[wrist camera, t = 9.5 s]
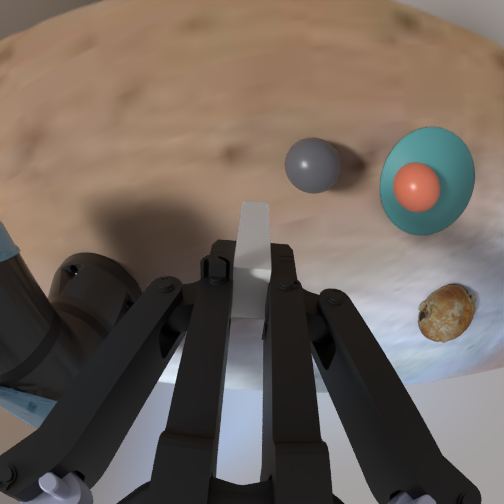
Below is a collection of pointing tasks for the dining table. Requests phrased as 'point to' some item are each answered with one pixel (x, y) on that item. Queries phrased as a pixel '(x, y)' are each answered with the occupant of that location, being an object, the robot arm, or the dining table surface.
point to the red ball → (416, 187)
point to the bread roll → (446, 313)
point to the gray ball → (313, 165)
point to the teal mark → (447, 170)
